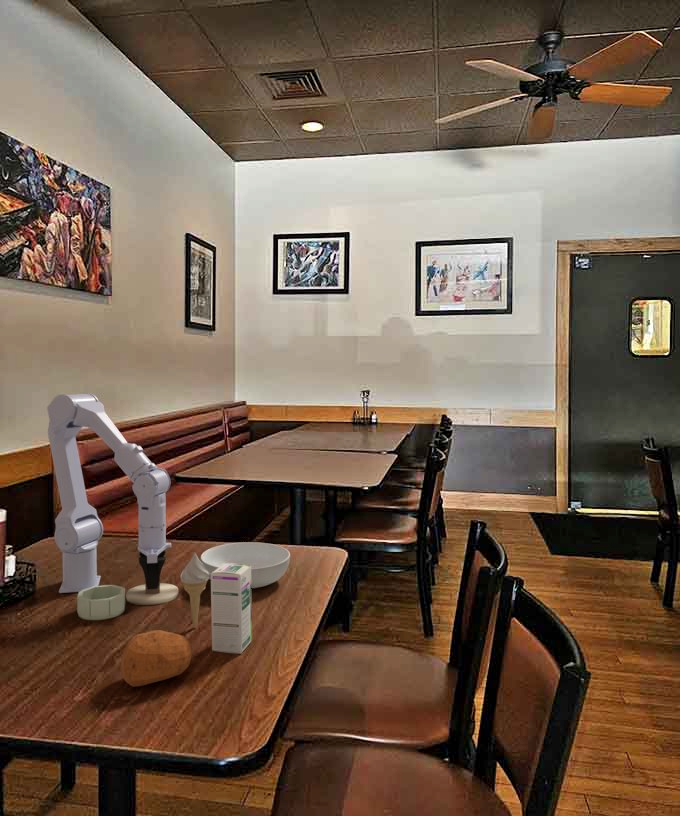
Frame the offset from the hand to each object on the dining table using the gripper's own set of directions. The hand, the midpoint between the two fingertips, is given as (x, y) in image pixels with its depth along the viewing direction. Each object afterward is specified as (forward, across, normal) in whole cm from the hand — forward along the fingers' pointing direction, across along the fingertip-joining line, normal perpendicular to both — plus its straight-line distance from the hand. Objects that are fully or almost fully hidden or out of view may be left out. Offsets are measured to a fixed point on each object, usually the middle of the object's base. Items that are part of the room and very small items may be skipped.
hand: (152, 585), depth 142 cm
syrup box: (+2, -30, -14) cm, 33 cm away
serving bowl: (+2, +4, -21) cm, 22 cm away
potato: (+2, -39, -1) cm, 39 cm away
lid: (+2, 0, 0) cm, 2 cm away
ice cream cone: (+2, -20, -8) cm, 22 cm away
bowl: (+2, -7, +10) cm, 12 cm away
